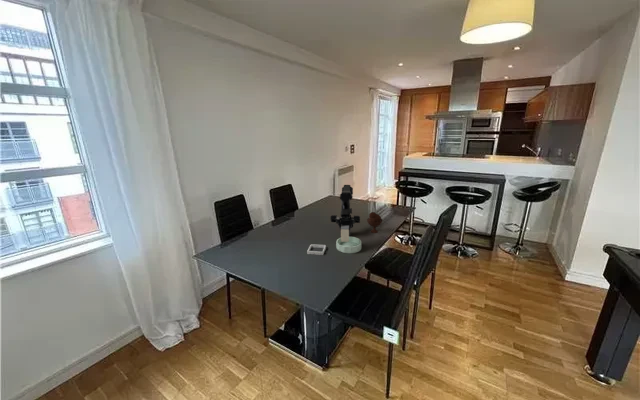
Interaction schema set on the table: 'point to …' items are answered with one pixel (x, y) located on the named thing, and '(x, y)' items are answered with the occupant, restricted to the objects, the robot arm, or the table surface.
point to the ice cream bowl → (374, 221)
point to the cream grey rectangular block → (344, 233)
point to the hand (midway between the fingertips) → (344, 231)
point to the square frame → (316, 251)
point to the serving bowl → (349, 245)
